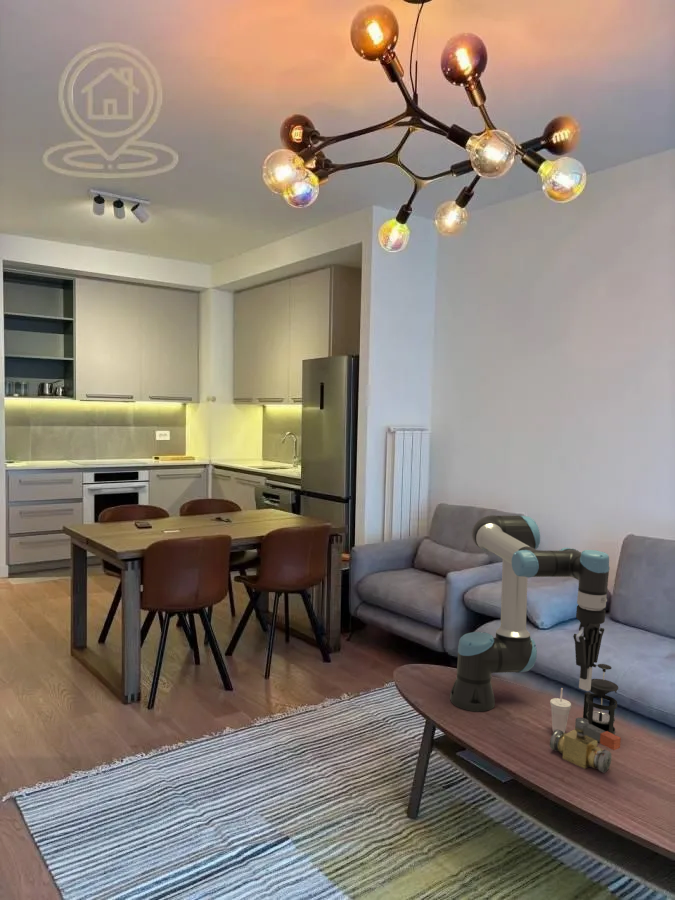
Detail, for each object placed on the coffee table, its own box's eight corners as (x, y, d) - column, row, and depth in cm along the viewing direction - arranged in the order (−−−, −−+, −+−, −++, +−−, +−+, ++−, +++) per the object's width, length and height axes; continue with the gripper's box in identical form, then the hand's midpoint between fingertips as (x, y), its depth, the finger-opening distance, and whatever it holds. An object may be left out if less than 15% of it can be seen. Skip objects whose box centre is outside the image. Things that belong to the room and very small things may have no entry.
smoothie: (570, 730, 215) (573, 687, 214) (568, 738, 210) (571, 695, 209) (549, 725, 218) (552, 683, 217) (546, 733, 212) (549, 690, 211)
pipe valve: (548, 752, 201) (550, 723, 200) (560, 745, 205) (562, 718, 204) (600, 775, 189) (602, 745, 188) (610, 768, 193) (613, 739, 192)
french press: (623, 742, 209) (629, 670, 207) (601, 747, 205) (606, 673, 204) (594, 725, 220) (600, 656, 218) (572, 729, 216) (578, 659, 214)
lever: (572, 729, 197) (573, 719, 196) (580, 727, 199) (580, 716, 198) (612, 750, 186) (613, 739, 185) (620, 747, 187) (621, 736, 187)
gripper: (591, 614, 180) (585, 699, 182) (615, 606, 189) (608, 688, 190) (566, 607, 186) (560, 689, 188) (590, 599, 194) (584, 678, 196)
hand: (584, 688), depth 189 cm, fingers closed
